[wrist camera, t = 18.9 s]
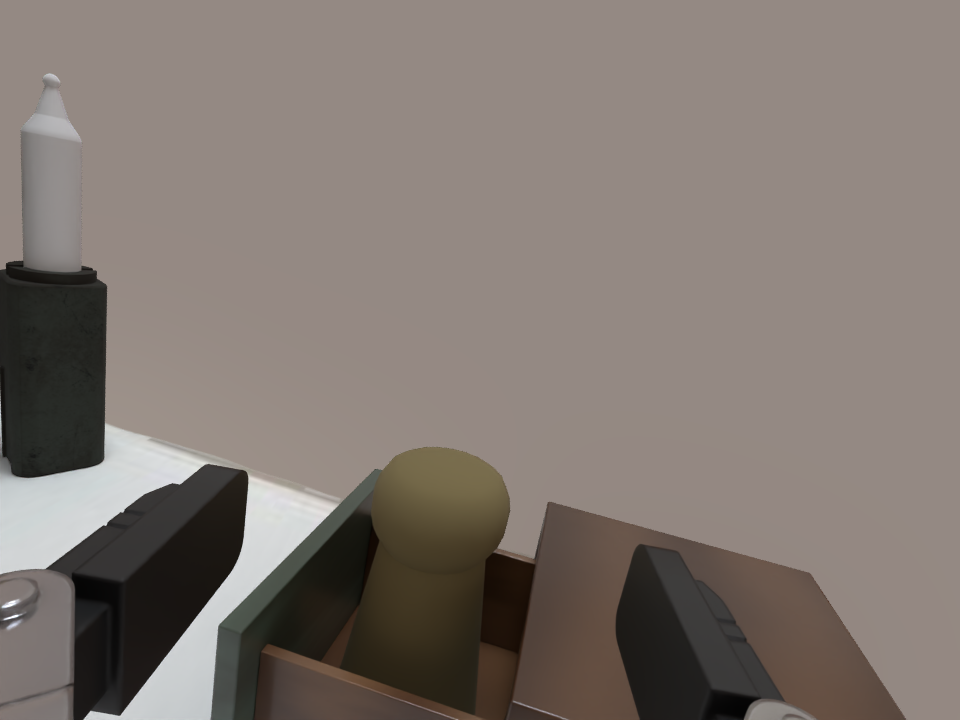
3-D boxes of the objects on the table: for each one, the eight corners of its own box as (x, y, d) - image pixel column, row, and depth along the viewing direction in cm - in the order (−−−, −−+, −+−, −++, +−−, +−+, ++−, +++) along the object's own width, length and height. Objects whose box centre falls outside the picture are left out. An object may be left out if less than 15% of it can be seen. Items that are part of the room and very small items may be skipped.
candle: (-2, 449, 37) (-15, 60, 31) (86, 436, 41) (89, 88, 35) (16, 480, 34) (4, 56, 28) (108, 462, 38) (116, 87, 32)
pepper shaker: (503, 703, 23) (558, 475, 20) (402, 809, 18) (458, 528, 16) (405, 624, 27) (442, 419, 24) (299, 695, 22) (331, 448, 19)
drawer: (171, 792, 18) (182, 613, 16) (337, 580, 29) (354, 461, 28) (547, 948, 16) (606, 760, 14) (568, 654, 27) (601, 530, 26)
